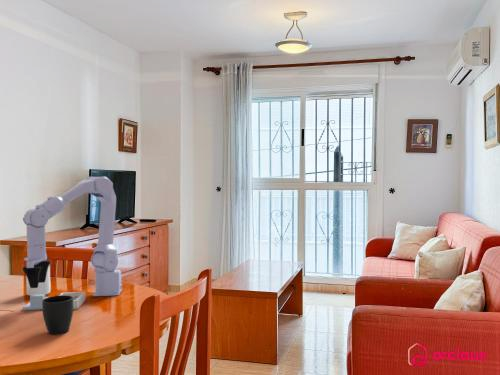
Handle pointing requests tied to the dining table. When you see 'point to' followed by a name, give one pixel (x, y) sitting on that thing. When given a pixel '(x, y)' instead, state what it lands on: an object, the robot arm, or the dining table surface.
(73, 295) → the tub
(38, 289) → the beverage can
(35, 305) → the lid
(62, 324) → the mug
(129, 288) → the dining table surface
